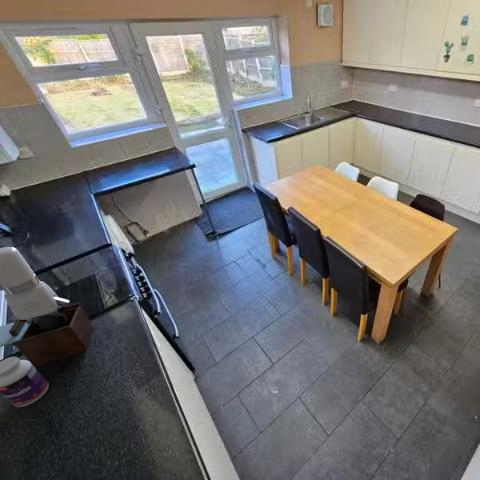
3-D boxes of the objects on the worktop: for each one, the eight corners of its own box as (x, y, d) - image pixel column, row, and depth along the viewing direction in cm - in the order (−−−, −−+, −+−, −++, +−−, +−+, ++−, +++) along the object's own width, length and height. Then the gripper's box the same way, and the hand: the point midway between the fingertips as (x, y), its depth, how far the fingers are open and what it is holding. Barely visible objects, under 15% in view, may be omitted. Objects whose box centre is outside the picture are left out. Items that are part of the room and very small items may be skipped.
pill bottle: (9, 413, 78) (-25, 383, 71) (22, 388, 84) (-7, 359, 77) (44, 401, 81) (15, 371, 73) (54, 378, 87) (29, 348, 80)
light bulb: (69, 336, 95) (54, 315, 90) (48, 344, 92) (31, 323, 87) (71, 326, 99) (57, 306, 94) (51, 333, 96) (35, 313, 91)
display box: (34, 368, 90) (11, 343, 84) (47, 341, 100) (28, 316, 94) (87, 351, 96) (69, 326, 89) (94, 326, 106) (79, 302, 99)
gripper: (-22, 301, 78) (15, 343, 87) (53, 283, 84) (80, 324, 93) (-9, 286, 84) (25, 327, 93) (60, 270, 90) (86, 310, 99)
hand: (53, 325), depth 93 cm, fingers closed on light bulb, 5 cm apart
